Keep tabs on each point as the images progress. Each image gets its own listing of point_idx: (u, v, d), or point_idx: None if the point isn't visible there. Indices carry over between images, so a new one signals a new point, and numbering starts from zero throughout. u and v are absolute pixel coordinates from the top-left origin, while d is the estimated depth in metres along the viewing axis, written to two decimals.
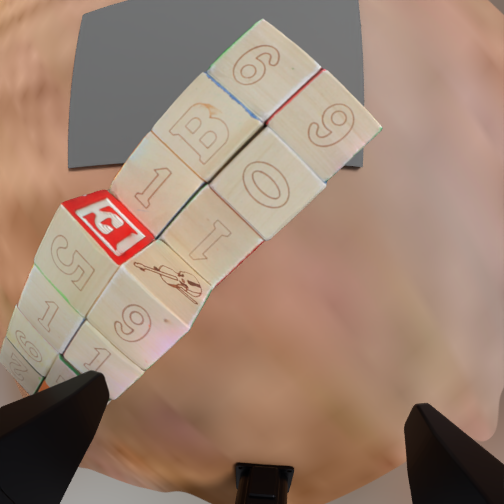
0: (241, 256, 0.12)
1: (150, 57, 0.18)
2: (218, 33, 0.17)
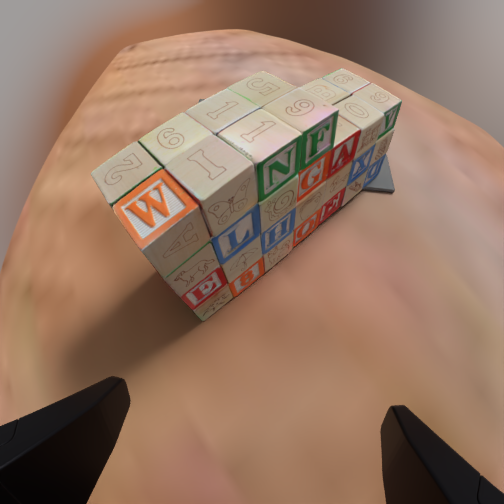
0: (349, 134, 0.18)
1: None
2: None
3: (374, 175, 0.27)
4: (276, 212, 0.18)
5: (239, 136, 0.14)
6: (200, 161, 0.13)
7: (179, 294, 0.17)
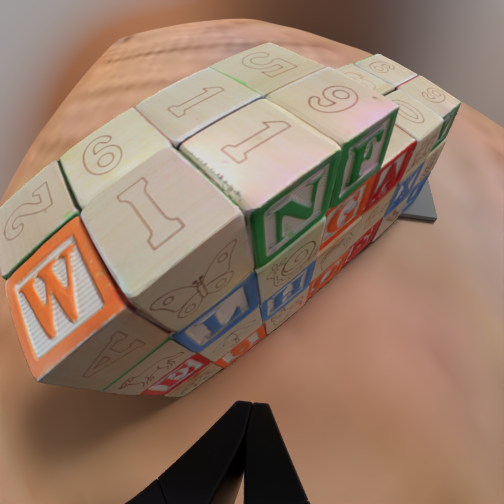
0: (401, 147, 0.11)
1: None
2: None
3: (413, 198, 0.20)
4: (285, 275, 0.11)
5: (219, 150, 0.07)
6: (137, 204, 0.07)
7: (135, 394, 0.10)
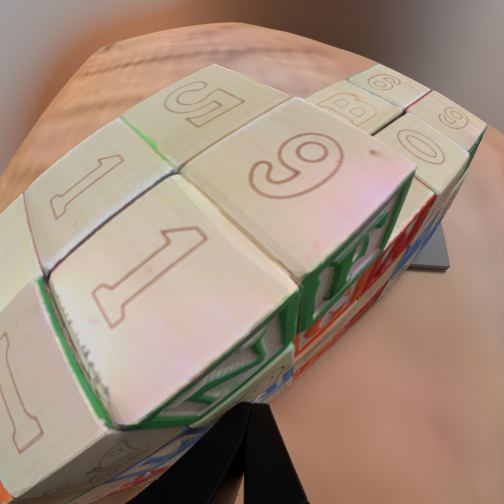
0: (415, 209, 0.08)
1: None
2: None
3: (426, 242, 0.16)
4: None
5: (89, 295, 0.04)
6: (0, 377, 0.03)
7: None
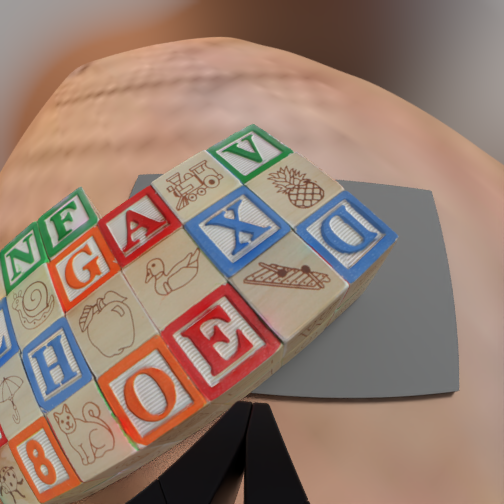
0: None
1: None
2: None
3: (375, 241, 0.11)
4: (28, 315, 0.10)
5: None
6: None
7: None
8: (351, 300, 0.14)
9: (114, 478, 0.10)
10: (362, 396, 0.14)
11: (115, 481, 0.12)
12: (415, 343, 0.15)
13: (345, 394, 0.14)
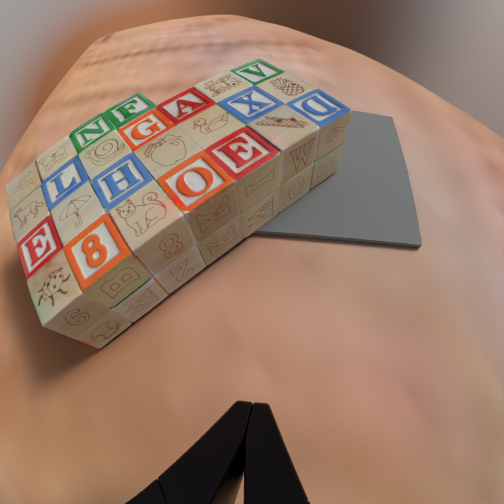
0: None
1: None
2: None
3: (336, 111, 0.17)
4: (100, 158, 0.16)
5: None
6: None
7: (14, 236, 0.14)
8: (327, 165, 0.20)
9: (144, 295, 0.17)
10: (341, 236, 0.20)
11: (140, 316, 0.18)
12: (380, 205, 0.21)
13: (328, 233, 0.20)
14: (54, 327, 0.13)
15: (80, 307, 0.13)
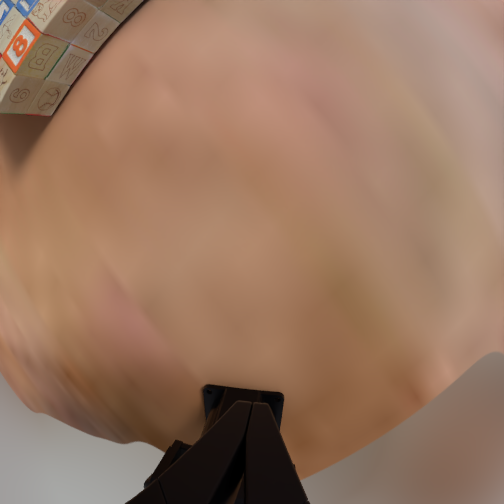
0: None
1: None
2: None
3: None
4: None
5: None
6: None
7: None
8: None
9: (69, 60, 0.15)
10: None
11: (74, 78, 0.17)
12: None
13: None
14: (4, 110, 0.13)
15: (19, 86, 0.13)
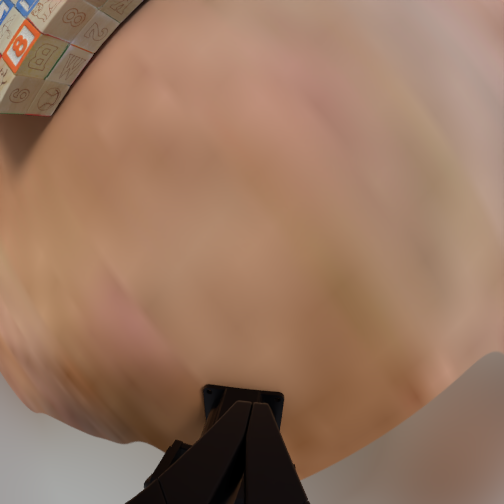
0: None
1: None
2: None
3: None
4: None
5: None
6: None
7: None
8: None
9: (69, 60, 0.15)
10: None
11: (74, 78, 0.17)
12: None
13: None
14: (4, 110, 0.13)
15: (18, 87, 0.13)
